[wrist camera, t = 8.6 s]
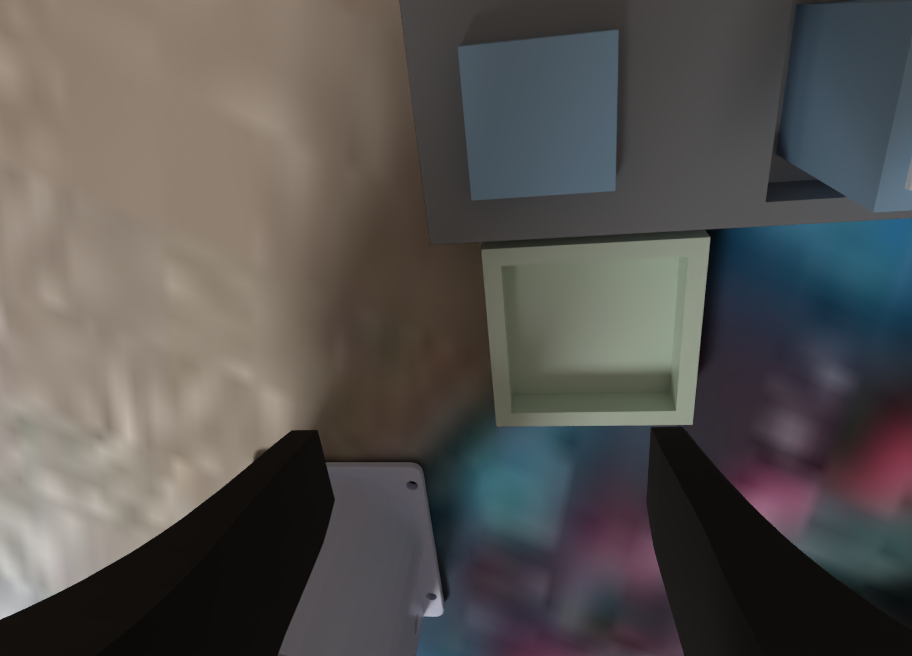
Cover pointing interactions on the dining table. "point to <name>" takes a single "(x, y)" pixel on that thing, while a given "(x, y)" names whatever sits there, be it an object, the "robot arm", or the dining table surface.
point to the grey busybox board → (606, 118)
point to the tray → (596, 328)
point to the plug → (852, 100)
